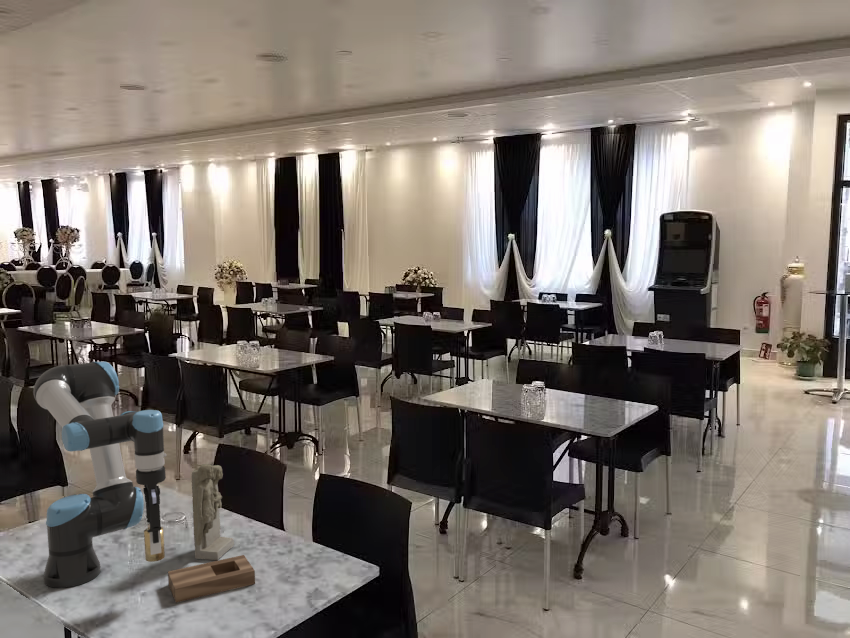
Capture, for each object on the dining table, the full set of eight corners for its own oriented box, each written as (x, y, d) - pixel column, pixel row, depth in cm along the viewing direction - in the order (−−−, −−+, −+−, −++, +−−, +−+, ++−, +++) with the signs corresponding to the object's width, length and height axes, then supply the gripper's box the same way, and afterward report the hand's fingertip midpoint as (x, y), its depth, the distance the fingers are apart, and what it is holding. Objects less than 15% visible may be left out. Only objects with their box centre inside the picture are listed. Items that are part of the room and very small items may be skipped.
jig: (168, 584, 203) (167, 571, 203) (244, 567, 214) (243, 554, 213) (175, 602, 193) (175, 589, 192) (255, 583, 203) (254, 570, 203)
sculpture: (213, 564, 216) (209, 469, 213) (189, 562, 217) (185, 468, 214) (235, 544, 230) (232, 455, 227) (213, 542, 232) (209, 454, 229)
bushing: (144, 556, 195) (143, 528, 194) (163, 552, 197) (162, 524, 197) (146, 563, 191) (144, 534, 190) (165, 559, 193) (164, 531, 192)
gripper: (169, 474, 185) (173, 558, 188) (161, 457, 201) (165, 535, 204) (138, 478, 182) (143, 564, 184) (132, 461, 198) (137, 540, 200)
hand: (154, 549), depth 194 cm, fingers closed on bushing, 5 cm apart
